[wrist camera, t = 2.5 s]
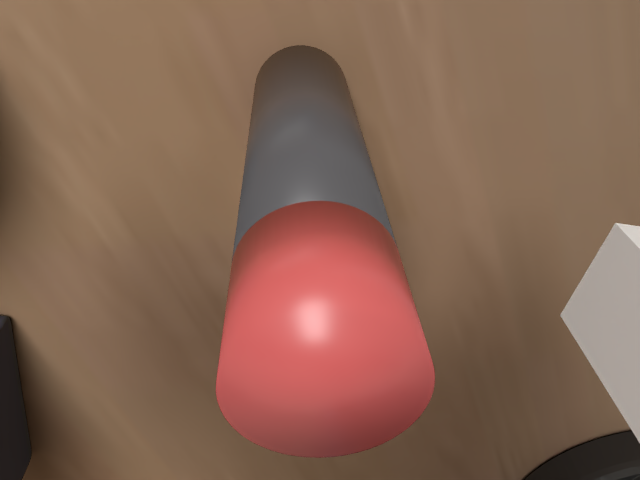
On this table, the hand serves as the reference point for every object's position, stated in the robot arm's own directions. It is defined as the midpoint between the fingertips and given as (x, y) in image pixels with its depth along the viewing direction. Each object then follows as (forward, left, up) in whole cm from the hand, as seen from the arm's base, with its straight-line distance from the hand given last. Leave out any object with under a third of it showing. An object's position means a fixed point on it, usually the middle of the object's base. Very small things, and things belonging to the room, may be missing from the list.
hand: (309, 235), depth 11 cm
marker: (0, 0, -10) cm, 10 cm away
